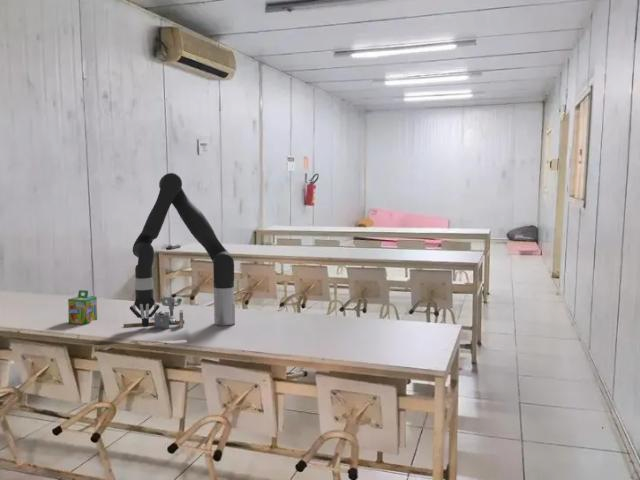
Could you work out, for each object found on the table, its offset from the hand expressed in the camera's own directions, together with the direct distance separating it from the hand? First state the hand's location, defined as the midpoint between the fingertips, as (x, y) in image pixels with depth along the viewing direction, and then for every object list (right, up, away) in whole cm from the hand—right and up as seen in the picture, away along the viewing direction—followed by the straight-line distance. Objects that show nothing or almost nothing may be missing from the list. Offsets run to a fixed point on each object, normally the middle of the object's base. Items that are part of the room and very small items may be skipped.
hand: (145, 326), depth 231 cm
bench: (+4, -2, +1) cm, 4 cm away
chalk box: (-34, -1, +16) cm, 38 cm away
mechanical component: (+5, 0, +23) cm, 24 cm away
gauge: (+9, -1, +1) cm, 9 cm away
